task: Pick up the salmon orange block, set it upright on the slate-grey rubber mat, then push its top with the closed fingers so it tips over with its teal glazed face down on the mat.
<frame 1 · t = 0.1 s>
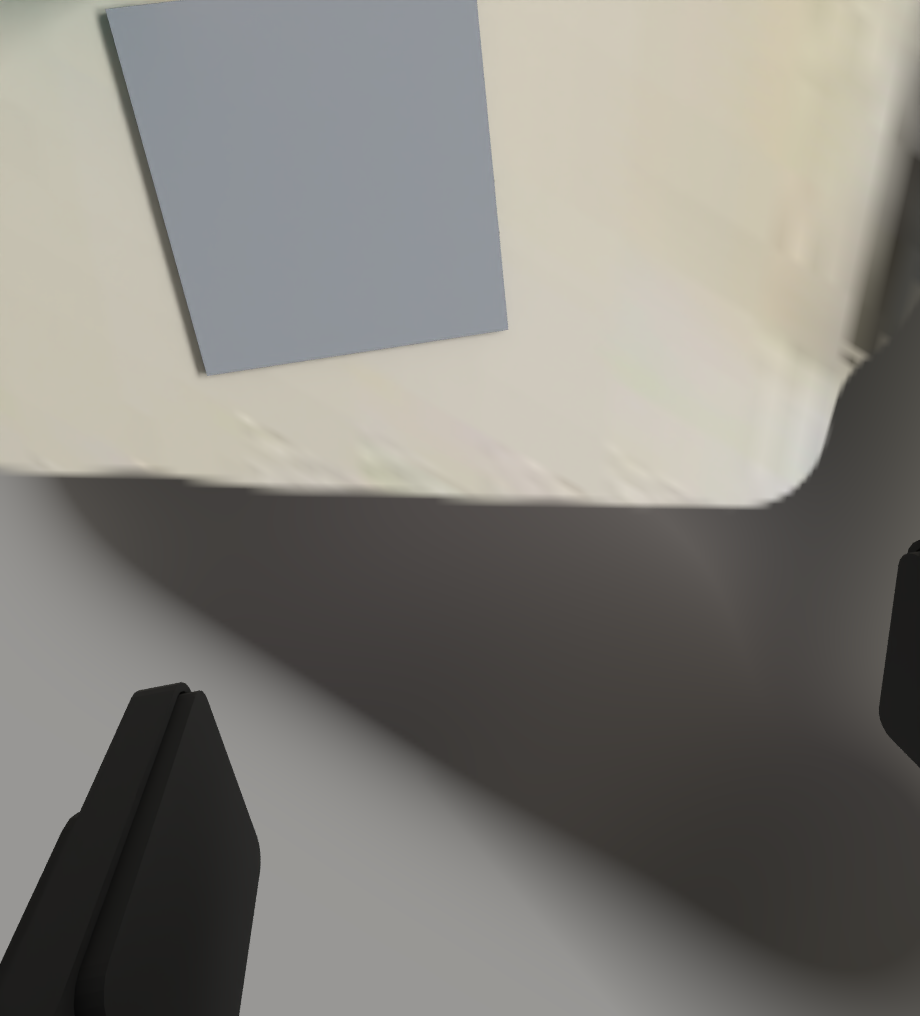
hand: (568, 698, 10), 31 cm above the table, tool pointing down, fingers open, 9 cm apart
mat: (329, 187, 35), on the table
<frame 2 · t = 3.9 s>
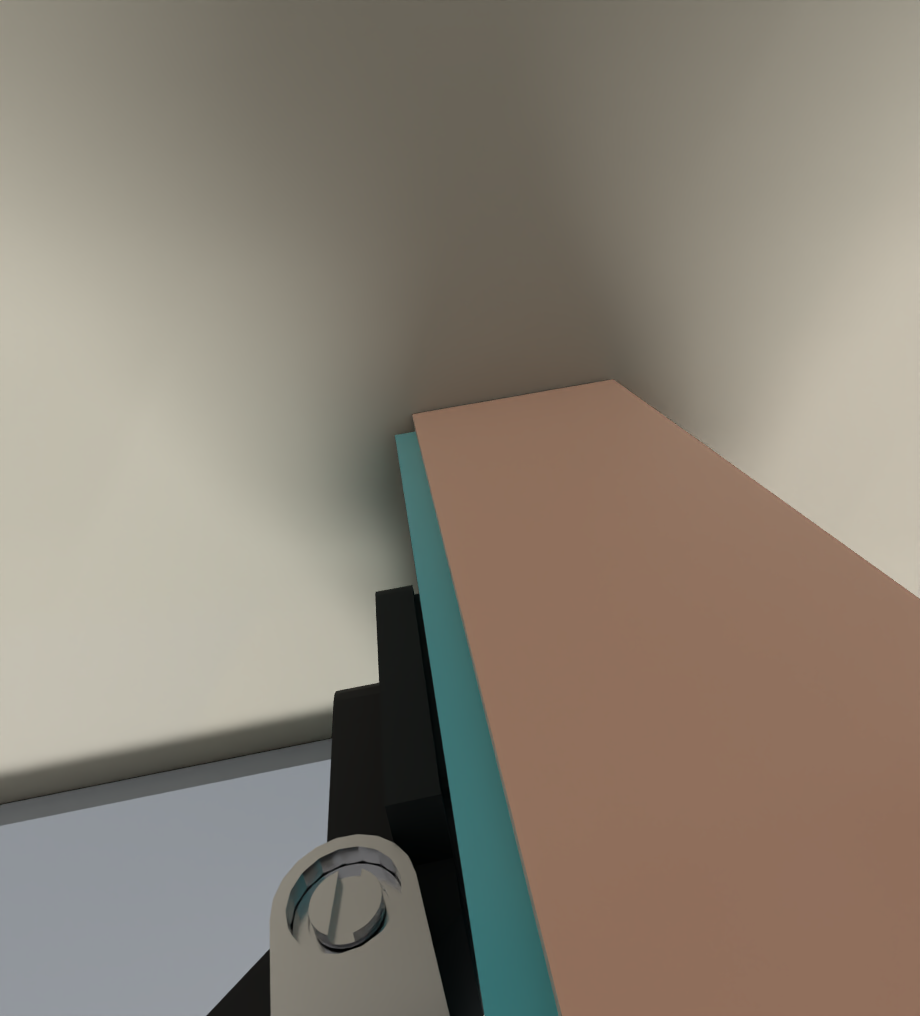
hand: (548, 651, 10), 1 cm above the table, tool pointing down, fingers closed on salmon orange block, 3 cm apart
salmon orange block: (536, 599, 12), on the table, touching gripper
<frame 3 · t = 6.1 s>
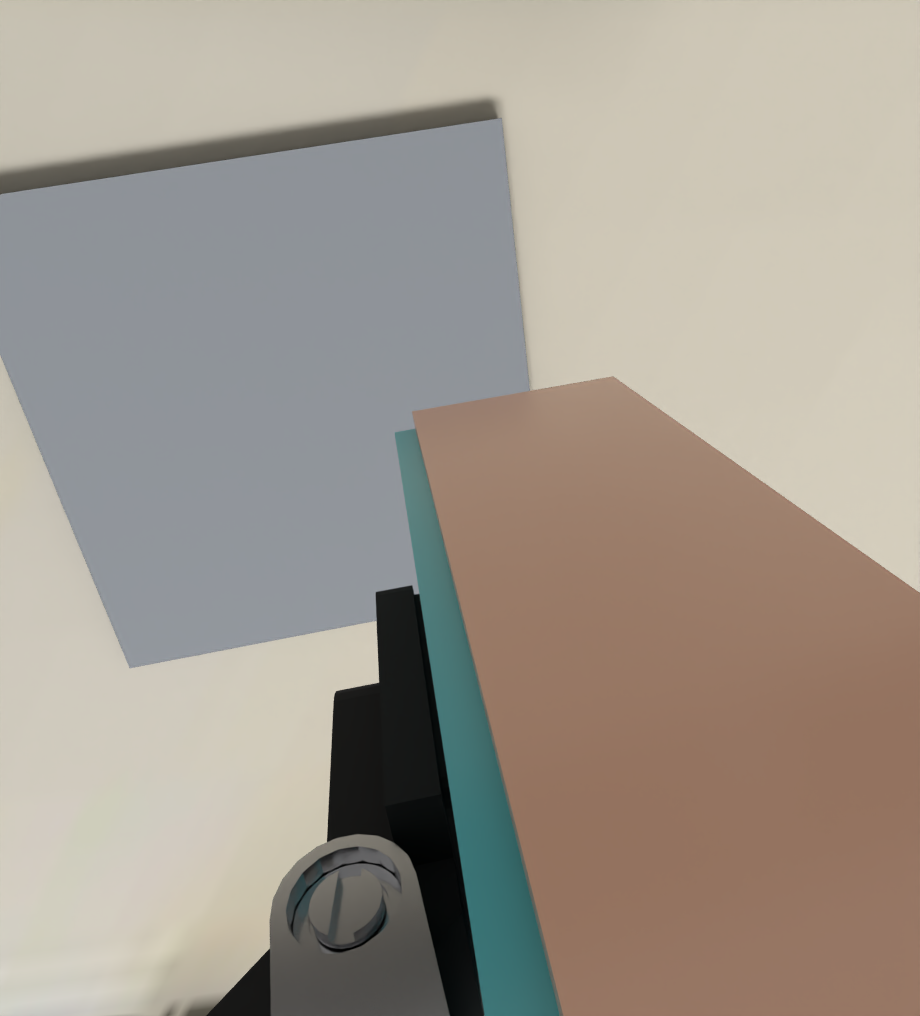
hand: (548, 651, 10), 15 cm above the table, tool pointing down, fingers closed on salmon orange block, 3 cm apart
mat: (294, 421, 24), on the table
salmon orange block: (536, 597, 12), point 14 cm above the table, touching gripper
when the fingers open (3 cm above the table, at t = 8.6 s): salmon orange block drops 1 cm, resting on mat.
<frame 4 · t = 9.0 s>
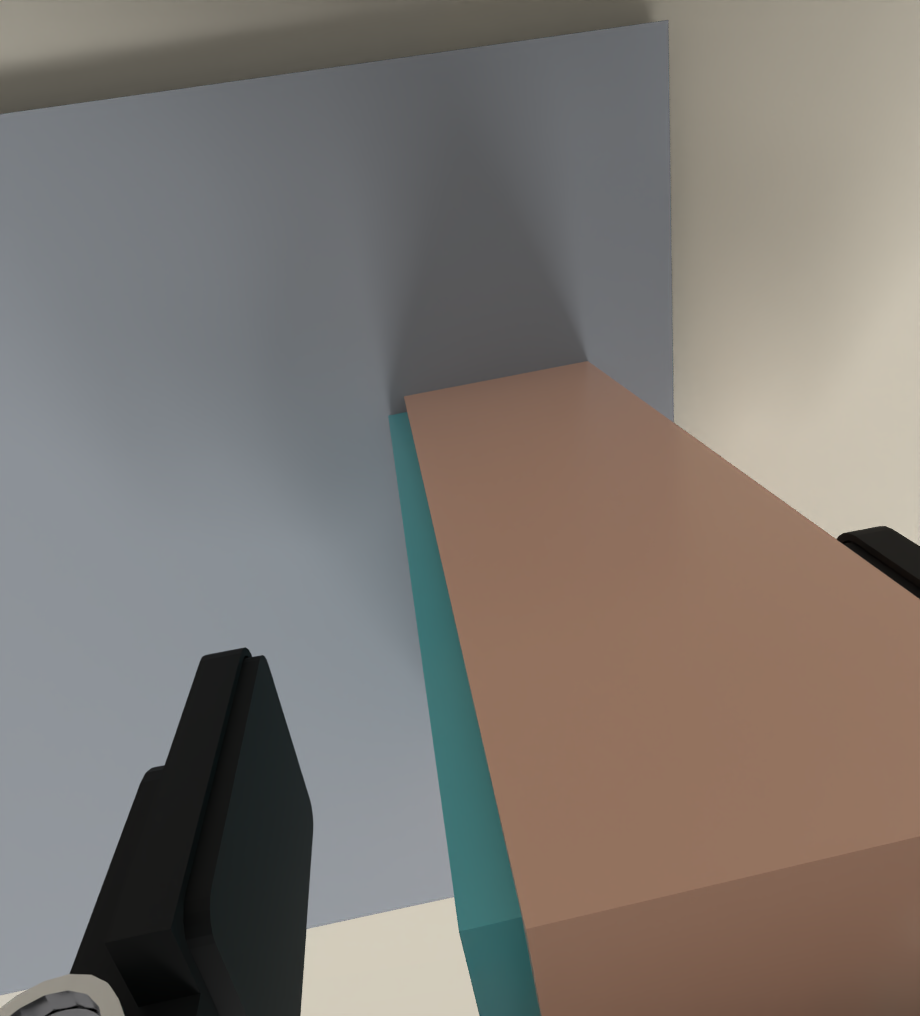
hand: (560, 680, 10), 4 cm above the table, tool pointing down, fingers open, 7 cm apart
mat: (239, 607, 13), on the table
salmon orange block: (523, 567, 13), resting on mat
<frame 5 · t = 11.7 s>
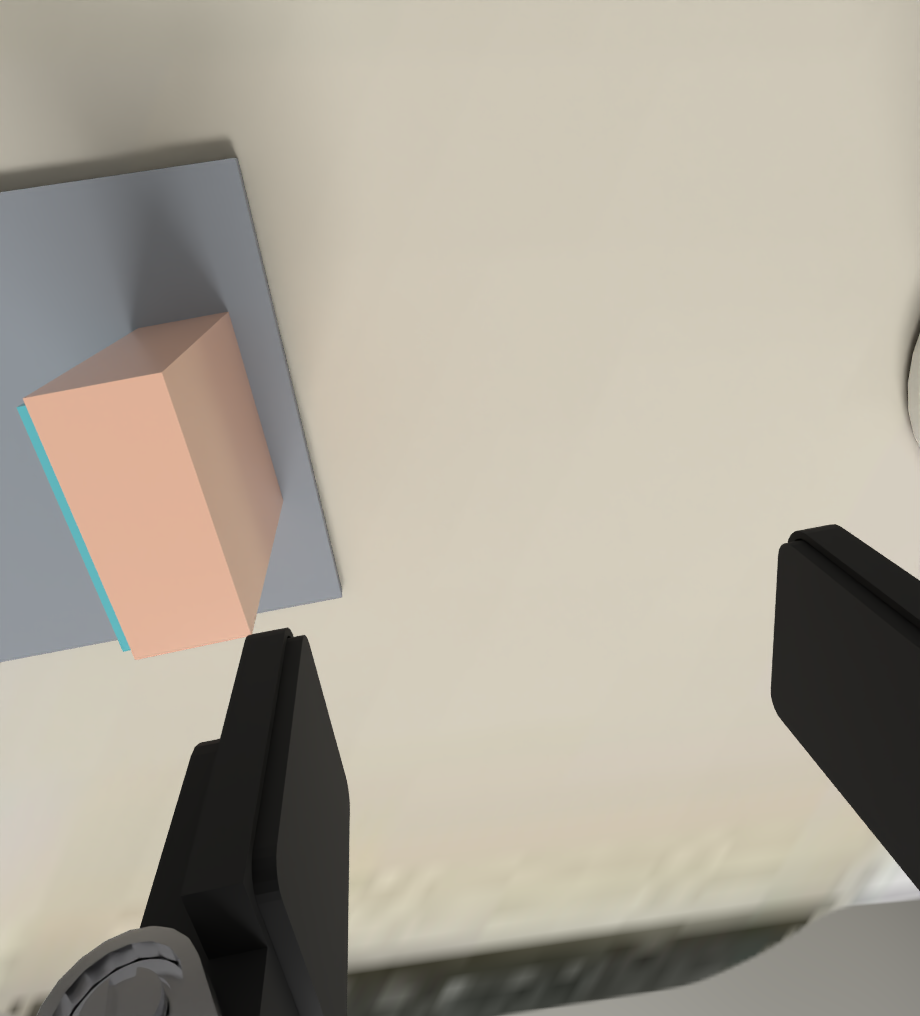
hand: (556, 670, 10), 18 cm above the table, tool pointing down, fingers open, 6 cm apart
mat: (71, 441, 25), on the table
salmon orange block: (215, 419, 25), resting on mat
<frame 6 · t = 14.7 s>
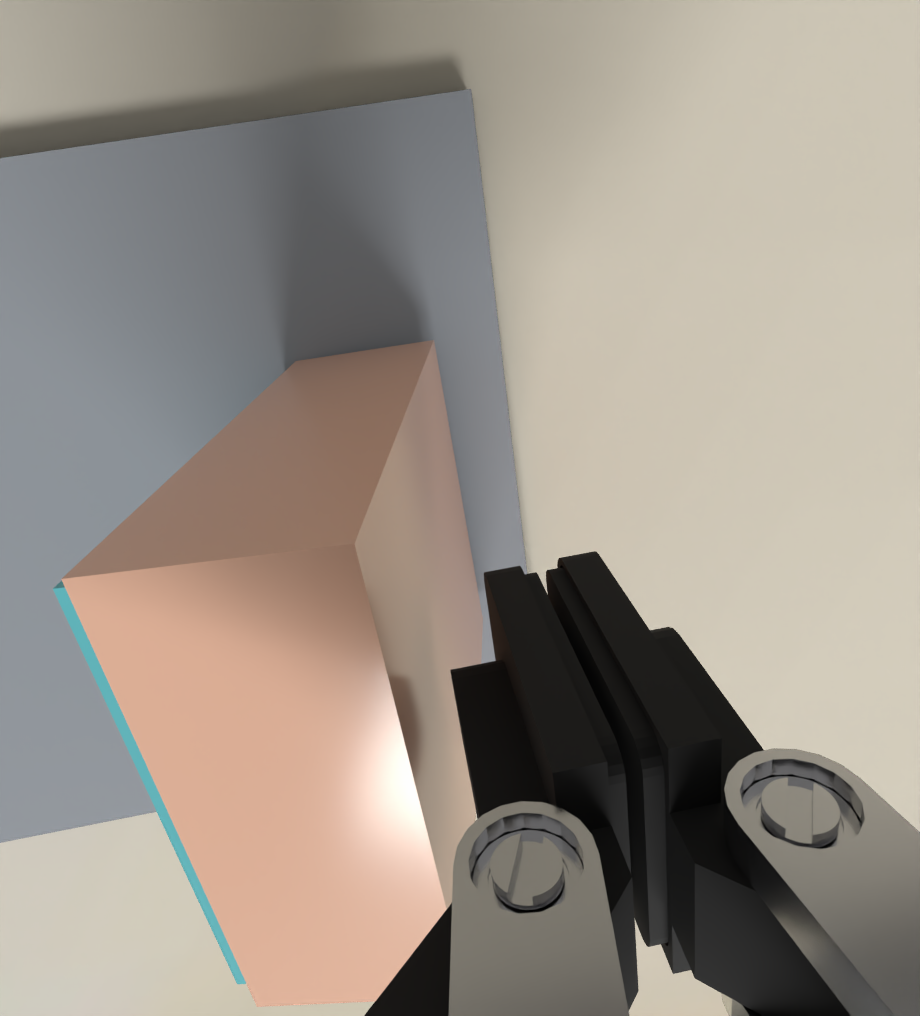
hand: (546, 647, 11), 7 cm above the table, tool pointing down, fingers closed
mat: (181, 526, 17), on the table
salmon orange block: (396, 500, 16), point 1 cm above the table, tilted 10°, touching mat
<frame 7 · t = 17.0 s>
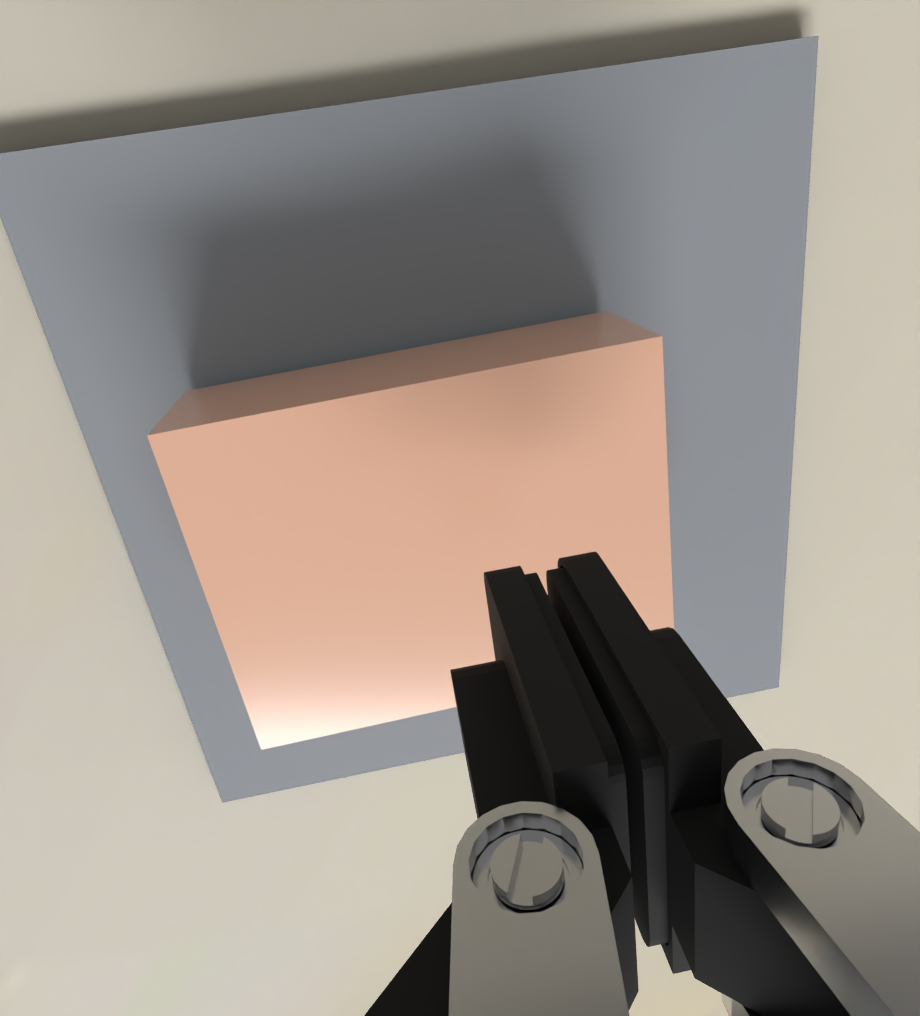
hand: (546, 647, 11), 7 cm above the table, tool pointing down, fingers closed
mat: (467, 475, 17), on the table
salmon orange block: (641, 485, 15), point 2 cm above the table, tilted 90°, touching mat
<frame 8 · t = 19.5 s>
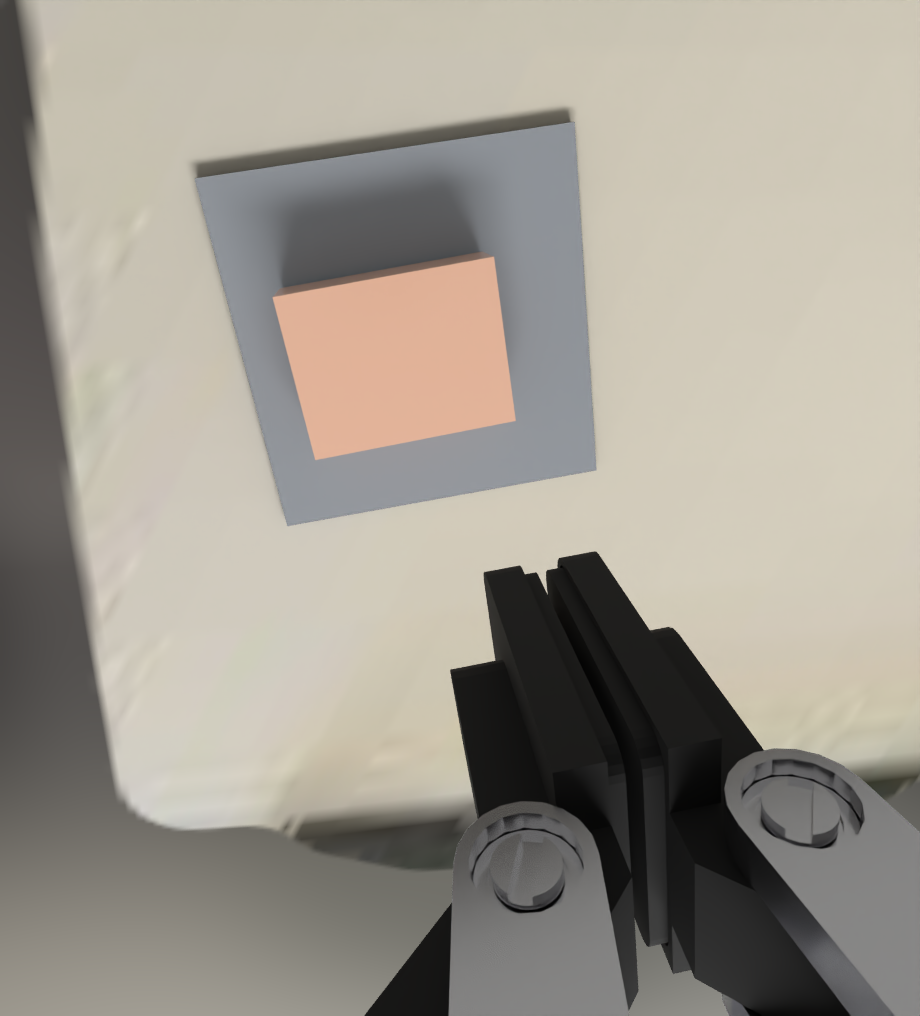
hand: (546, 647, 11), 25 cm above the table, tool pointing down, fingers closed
mat: (417, 339, 33), on the table
salmon orange block: (499, 336, 32), point 2 cm above the table, tilted 90°, touching mat
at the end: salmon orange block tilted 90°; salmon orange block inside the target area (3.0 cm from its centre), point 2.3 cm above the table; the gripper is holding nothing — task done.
